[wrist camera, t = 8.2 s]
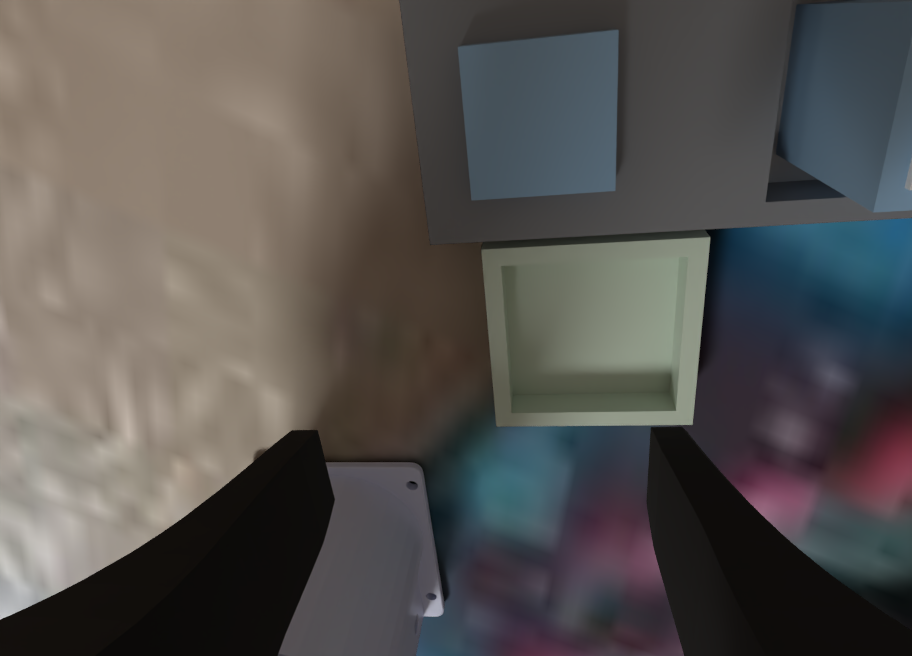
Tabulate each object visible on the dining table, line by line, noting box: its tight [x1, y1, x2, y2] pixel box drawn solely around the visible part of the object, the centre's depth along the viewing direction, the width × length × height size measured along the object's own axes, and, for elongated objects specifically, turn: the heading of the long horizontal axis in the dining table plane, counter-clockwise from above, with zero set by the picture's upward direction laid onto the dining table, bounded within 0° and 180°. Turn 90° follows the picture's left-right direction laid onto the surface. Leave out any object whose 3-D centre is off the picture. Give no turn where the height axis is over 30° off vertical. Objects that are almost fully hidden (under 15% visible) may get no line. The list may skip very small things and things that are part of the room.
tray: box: [481, 230, 710, 427], centre depth 21 cm, size 7×7×2 cm
